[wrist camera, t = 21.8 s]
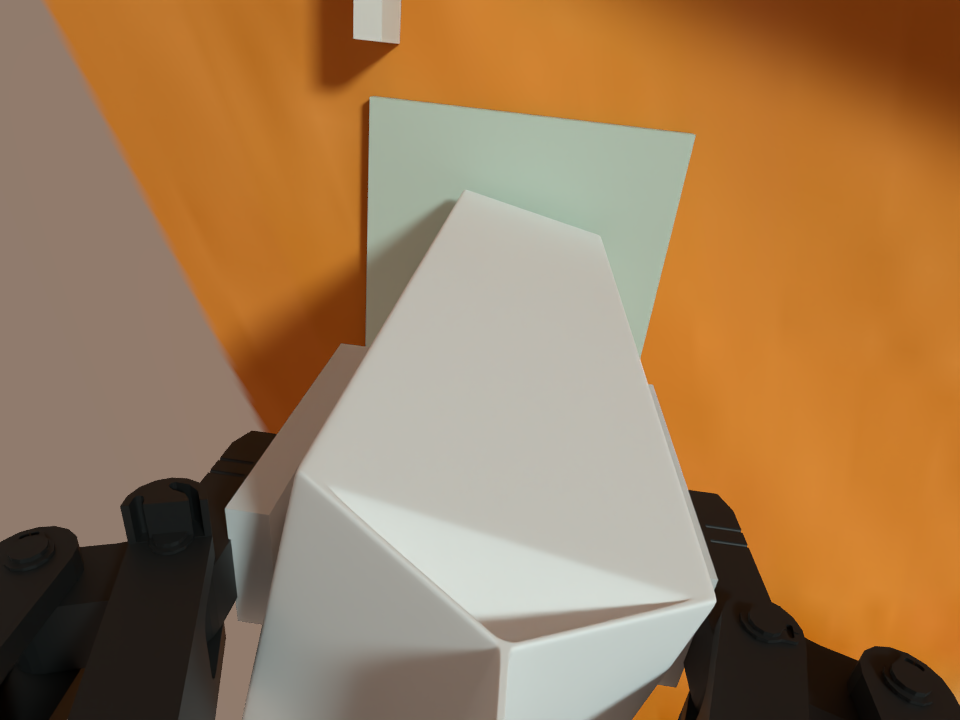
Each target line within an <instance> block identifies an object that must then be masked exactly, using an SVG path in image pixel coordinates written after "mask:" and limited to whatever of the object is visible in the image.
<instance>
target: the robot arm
mask: <svg viewBox="0 0 960 720" xmlns="http://www.w3.org/2000/svg"><path fill="white" fill-rule="evenodd" d="M368 349H369V347H365V346H358V345H350V344H343V343H341V344H340V346H339V347H338V349H337V350H336V351H335V353H334V354H333V356H332V357H331V358H330V360H329V361H328V363H327V364H326V366H325V367H324V368H323V370H322V371H321V373H320V374H319V376H318V377H317V378H316V380H315V381H314V383H313V384H312V385H311V387H310V388H309V390H308V391H307V393H306V394H305V395H304V397H303V398H302V400H301V401H300V403H299V404H298V405H297V407H296V408H295V410H294V411H293V412H292V414H291V415H290V417H289V418H288V420H287V421H286V422H285V424H284V425H283V427H282V428H281V430H280V431H279V432H278V434H273V433H266V432H258V431H251V432H249V433H247V434H246V435H244V436H242V437H241V438H239V439H237V440H236V441H234V442H232V444H231V445H230V446H229V447H228V449H227V450H226V451H225V452H224V454H223V455H222V456H221V458H220V460H218V461H217V462H216V464H215V465H214V466H213V467H212V469H211V471H210V473H208V474H207V475H206V476H205V477H204V478H203V480H202V481H201V482H200V483H199V482H196V481H193V480H190V479H187V478H186V479H185V478H168V479H162V480H157V481H154V482H151V483H149V484H146V485H144V486H141V487H139V488H138V489H136V490H135V491H134V492H132V493H131V494H130V495H128V496H127V497H126V499H125V500H124V502H123V503H122V505H121V506H120V507H121V512H122V516H123V521H124V526H125V530H126V535H127V539H128V542H123V543H117V544H107V545H97V546H87V547H79V544H78V540H77V537H76V535H75V534H73V533H72V532H71V531H70V530H69V529H65V528H61V527H57V526H51V527H38V528H34V529H30V530H26V531H23V532H19V533H17V534H15V535H13V536H12V537H9V538H7V539H5V540H3V541H2V542H0V720H67V719H68V720H215V716H216V708H217V700H218V693H219V685H220V678H221V670H222V663H223V655H224V648H225V647H224V646H225V640H226V635H225V627H224V620H225V619H226V617H227V615H228V613H229V611H230V610H231V608H232V606H233V604H234V603H235V601H236V608H237V616H238V621H242V622H249V623H255V624H262V625H263V620H264V615H265V611H266V606H267V601H268V597H269V592H270V588H271V583H272V578H273V574H274V569H275V564H276V560H277V555H278V551H279V546H280V541H281V537H282V532H283V527H284V523H285V518H286V514H287V509H288V504H289V500H290V495H291V490H292V486H293V481H294V477H295V474H296V471H297V469H298V467H299V465H300V463H301V461H302V459H303V458H304V456H305V454H306V453H307V451H308V449H309V448H310V446H311V444H312V443H313V441H314V439H315V438H316V436H317V434H318V433H319V431H320V429H321V428H322V426H323V424H324V423H325V421H326V419H327V418H328V416H329V414H330V413H331V411H332V409H333V408H334V406H335V404H336V403H337V401H338V399H339V398H340V396H341V394H342V393H343V391H344V389H345V388H346V386H347V384H348V383H349V381H350V379H351V378H352V376H353V374H354V373H355V371H356V369H357V368H358V366H359V364H360V363H361V361H362V359H363V358H364V356H365V354H366V353H367V351H368ZM648 386H649V389H650V392H651V395H652V398H653V401H654V404H655V408H656V411H657V414H658V417H659V420H660V423H661V426H662V429H663V433H664V436H665V439H666V442H667V445H668V448H669V451H670V454H671V458H672V461H673V464H674V467H675V470H676V473H677V476H678V479H679V482H680V486H681V489H682V492H683V495H684V498H685V501H686V504H687V507H688V511H689V514H690V517H691V520H692V523H693V526H694V529H695V532H696V536H697V539H698V542H699V545H700V548H701V551H702V554H703V557H704V561H705V564H706V567H707V570H708V573H709V576H710V579H711V582H712V586H713V589H714V592H715V596H716V603H715V605H714V607H713V609H712V610H711V612H710V613H709V614H708V616H707V617H706V618H705V620H704V621H703V623H702V624H701V625H700V627H699V628H698V629H697V631H696V632H695V634H694V635H693V636H692V638H691V639H690V640H689V642H688V643H687V645H686V646H685V647H684V649H683V650H682V651H681V653H680V654H679V656H678V657H677V658H676V660H675V661H674V662H673V664H672V665H671V667H670V668H669V669H668V671H667V672H666V673H665V675H664V676H663V678H662V679H661V680H660V682H659V683H658V685H664V686H671V687H677V684H678V682H679V679H680V677H681V674H682V672H683V669H684V668H685V672H686V676H687V681H688V685H689V689H690V691H689V693H688V696H687V698H686V701H685V703H684V706H683V708H682V711H681V713H680V716H679V718H678V720H960V705H959V704H958V702H957V700H956V698H955V696H954V694H953V693H952V692H951V690H950V689H949V687H948V686H947V685H946V683H945V682H944V681H943V679H942V678H941V677H940V676H938V675H937V674H936V673H935V672H934V671H933V670H932V669H931V668H929V667H928V666H927V665H926V664H924V663H923V662H921V661H919V660H918V659H916V658H914V657H913V656H911V655H909V654H908V653H905V652H902V651H899V650H896V649H893V648H891V647H878V646H875V647H872V648H870V649H867V650H865V651H864V652H863V654H862V656H861V657H860V659H859V661H857V660H855V659H852V658H850V657H847V656H845V655H842V654H840V653H838V652H835V651H833V650H830V649H828V648H825V647H823V646H820V645H818V644H816V643H814V642H812V641H810V640H808V639H806V638H805V637H804V634H803V631H802V629H801V628H800V626H799V625H798V624H797V622H796V621H795V619H794V618H793V617H792V616H791V615H789V614H788V613H787V612H786V611H785V610H783V609H782V608H781V607H780V606H778V605H776V604H774V603H772V602H771V600H770V597H769V595H768V593H767V590H766V588H765V586H764V583H763V581H762V578H761V576H760V574H759V571H758V569H757V566H756V564H755V562H754V559H753V557H752V554H751V552H750V550H749V548H747V543H746V540H745V538H744V535H743V533H741V528H740V526H739V523H738V521H737V519H736V516H735V514H734V511H733V510H732V509H731V508H730V507H729V506H728V505H727V504H726V503H725V502H724V501H723V500H722V499H721V498H720V496H719V495H718V494H714V493H706V492H699V491H692V490H688V488H687V485H686V482H685V479H684V476H683V473H682V470H681V467H680V465H679V462H678V459H677V456H676V453H675V450H674V447H673V444H672V441H671V438H670V435H669V432H668V429H667V426H666V423H665V420H664V417H663V414H662V411H661V408H660V405H659V402H658V399H657V396H656V393H655V390H654V387H653V385H650V384H648Z"/></svg>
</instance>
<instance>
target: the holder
mask: <svg viewBox="0 0 960 720" xmlns="http://www.w3.org/2000/svg"><path fill="white" fill-rule="evenodd" d="M400 19H401V0H354V8H353V39H360V40H369V41H378V42H387V43H396V44H400Z"/></svg>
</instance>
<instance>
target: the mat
mask: <svg viewBox="0 0 960 720" xmlns="http://www.w3.org/2000/svg"><path fill="white" fill-rule="evenodd" d="M695 136H696V135H694V134H692V133H683V132H675V131H666V130H658V129H649V128H641V127H632V126H624V125H615V124H607V123H598V122H590V121H581V120H573V119H565V118H556V117H548V116H539V115H531V114H522V113H514V112H505V111H497V110H488V109H480V108H471V107H463V106H454V105H446V104H437V103H429V102H420V101H412V100H403V99H395V98H386V97H378V96H371V97H370V112H369V170H368V227H367V285H366V343H365V347H369V348H370V346H371V344H372V343H373V341H374V339H375V338H376V336H377V334H378V333H379V331H380V329H381V328H382V326H383V324H384V323H385V321H386V319H387V318H388V316H389V314H390V313H391V311H392V309H393V308H394V306H395V304H396V303H397V301H398V299H399V298H400V296H401V294H402V292H403V291H404V289H405V287H406V286H407V284H408V282H409V281H410V279H411V277H412V276H413V274H414V272H415V271H416V269H417V267H418V266H419V264H420V262H421V261H422V259H423V257H424V256H425V254H426V252H427V251H428V249H429V247H430V246H431V244H432V242H433V241H434V239H435V237H436V236H437V234H438V232H439V231H440V229H441V227H442V226H443V224H444V222H445V221H446V219H447V217H448V216H449V214H450V212H451V211H452V209H453V207H454V206H455V204H456V202H457V201H458V199H459V197H460V196H461V194H462V192H463V191H464V190H469V191H472V192H475V193H478V194H481V195H484V196H486V197H489V198H492V199H495V200H498V201H501V202H504V203H507V204H510V205H513V206H516V207H518V208H521V209H524V210H527V211H530V212H533V213H536V214H539V215H542V216H545V217H548V218H550V219H553V220H556V221H559V222H562V223H565V224H568V225H571V226H574V227H577V228H580V229H583V230H585V231H588V232H591V233H594V234H597V235H599V236H600V237H601V239H602V242H603V245H604V248H605V252H606V255H607V258H608V261H609V264H610V267H611V270H612V273H613V277H614V280H615V283H616V286H617V289H618V292H619V295H620V298H621V301H622V305H623V308H624V311H625V314H626V317H627V320H628V323H629V326H630V330H631V333H632V336H633V339H634V342H635V345H636V348H637V351H638V355H639V358H640V357H641V353H642V349H643V345H644V341H645V337H646V333H647V329H648V325H649V321H650V317H651V313H652V309H653V305H654V301H655V297H656V292H657V288H658V284H659V280H660V276H661V272H662V268H663V264H664V260H665V256H666V252H667V248H668V244H669V240H670V236H671V232H672V228H673V224H674V220H675V216H676V212H677V208H678V204H679V200H680V196H681V192H682V188H683V184H684V180H685V176H686V172H687V168H688V164H689V160H690V156H691V152H692V148H693V144H694V140H695Z"/></svg>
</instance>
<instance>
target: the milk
mask: <svg viewBox="0 0 960 720" xmlns="http://www.w3.org/2000/svg"><path fill="white" fill-rule="evenodd" d="M715 603H716V596H715V592H714V589H713V586H712V582H711V579H710V576H709V573H708V570H707V567H706V564H705V561H704V557H703V554H702V551H701V548H700V545H699V542H698V539H697V536H696V532H695V529H694V526H693V523H692V520H691V517H690V514H689V511H688V507H687V504H686V501H685V498H684V495H683V492H682V489H681V486H680V482H679V479H678V476H677V473H676V470H675V467H674V464H673V461H672V458H671V454H670V451H669V448H668V445H667V442H666V439H665V436H664V433H663V429H662V426H661V423H660V420H659V417H658V414H657V411H656V408H655V404H654V401H653V398H652V395H651V392H650V389H649V386H648V383H647V380H646V376H645V373H644V370H643V367H642V364H641V361H640V358H639V355H638V351H637V348H636V345H635V342H634V339H633V336H632V333H631V330H630V326H629V323H628V320H627V317H626V314H625V311H624V308H623V305H622V301H621V298H620V295H619V292H618V289H617V286H616V283H615V280H614V277H613V273H612V270H611V267H610V264H609V261H608V258H607V255H606V252H605V248H604V245H603V242H602V239H601V237H600V236H599V235H597V234H594V233H591V232H588V231H585V230H583V229H580V228H577V227H574V226H571V225H568V224H565V223H562V222H559V221H556V220H553V219H550V218H548V217H545V216H542V215H539V214H536V213H533V212H530V211H527V210H524V209H521V208H518V207H516V206H513V205H510V204H507V203H504V202H501V201H498V200H495V199H492V198H489V197H486V196H484V195H481V194H478V193H475V192H472V191H469V190H464V191H463V192H462V194H461V196H460V197H459V199H458V201H457V202H456V204H455V206H454V207H453V209H452V211H451V212H450V214H449V216H448V217H447V219H446V221H445V222H444V224H443V226H442V227H441V229H440V231H439V232H438V234H437V236H436V237H435V239H434V241H433V242H432V244H431V246H430V247H429V249H428V251H427V252H426V254H425V256H424V257H423V259H422V261H421V262H420V264H419V266H418V267H417V269H416V271H415V272H414V274H413V276H412V277H411V279H410V281H409V282H408V284H407V286H406V287H405V289H404V291H403V292H402V294H401V296H400V298H399V299H398V301H397V303H396V304H395V306H394V308H393V309H392V311H391V313H390V314H389V316H388V318H387V319H386V321H385V323H384V324H383V326H382V328H381V329H380V331H379V333H378V334H377V336H376V338H375V339H374V341H373V343H372V344H371V346H370V348H369V349H368V351H367V353H366V354H365V356H364V358H363V359H362V361H361V363H360V364H359V366H358V368H357V369H356V371H355V373H354V374H353V376H352V378H351V379H350V381H349V383H348V384H347V386H346V388H345V389H344V391H343V393H342V394H341V396H340V398H339V399H338V401H337V403H336V404H335V406H334V408H333V409H332V411H331V413H330V414H329V416H328V418H327V419H326V421H325V423H324V424H323V426H322V428H321V429H320V431H319V433H318V434H317V436H316V438H315V439H314V441H313V443H312V444H311V446H310V448H309V449H308V451H307V453H306V454H305V456H304V458H303V459H302V461H301V463H300V465H299V467H298V469H297V471H296V474H295V477H294V481H293V486H292V490H291V495H290V500H289V504H288V509H287V514H286V518H285V523H284V527H283V532H282V537H281V541H280V546H279V551H278V555H277V560H276V564H275V569H274V574H273V578H272V583H271V588H270V592H269V597H268V601H267V606H266V611H265V615H264V620H263V625H262V629H261V634H260V639H259V644H258V648H257V652H256V657H255V662H254V666H253V671H252V675H251V681H250V685H249V689H248V694H247V699H246V703H245V708H244V713H243V717H242V720H632V719H633V717H634V716H635V715H636V713H637V712H638V711H639V709H640V708H641V706H642V705H643V704H644V702H645V701H646V700H647V698H648V697H649V695H650V694H651V693H652V691H653V690H654V689H655V687H656V686H657V684H658V683H659V682H660V680H661V679H662V678H663V676H664V675H665V673H666V672H667V671H668V669H669V668H670V667H671V665H672V664H673V662H674V661H675V660H676V658H677V657H678V656H679V654H680V653H681V651H682V650H683V649H684V647H685V646H686V645H687V643H688V642H689V640H690V639H691V638H692V636H693V635H694V634H695V632H696V631H697V629H698V628H699V627H700V625H701V624H702V623H703V621H704V620H705V618H706V617H707V616H708V614H709V613H710V612H711V610H712V609H713V607H714V605H715Z"/></svg>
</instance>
